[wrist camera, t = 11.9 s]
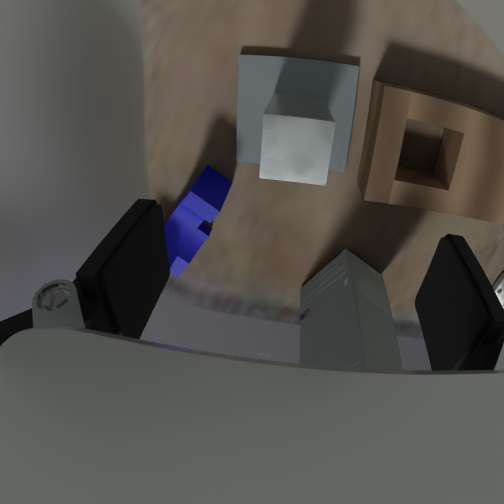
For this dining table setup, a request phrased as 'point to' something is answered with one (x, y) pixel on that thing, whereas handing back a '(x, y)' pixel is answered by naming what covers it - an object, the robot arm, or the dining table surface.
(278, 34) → the dining table surface
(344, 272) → the skincare box
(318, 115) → the steel bar
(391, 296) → the dining table surface
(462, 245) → the robot arm
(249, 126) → the rubber mat
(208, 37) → the dining table surface
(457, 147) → the wooden block with hole
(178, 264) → the cable clip
